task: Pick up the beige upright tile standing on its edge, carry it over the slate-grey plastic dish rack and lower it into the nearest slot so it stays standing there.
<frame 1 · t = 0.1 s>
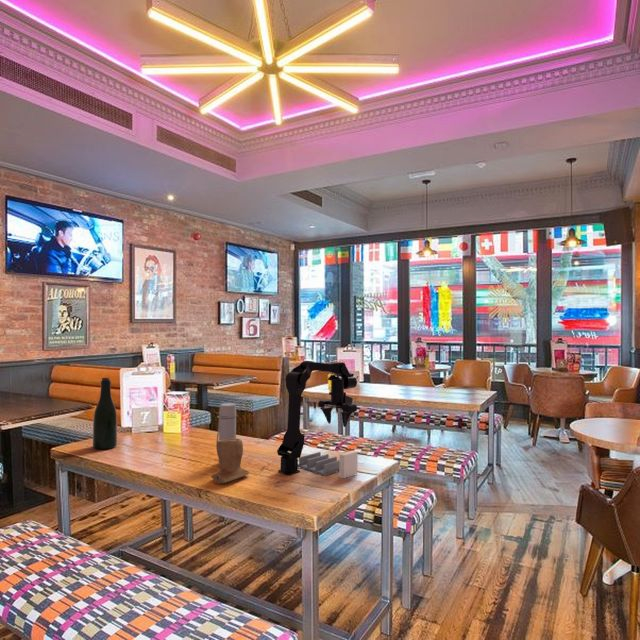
hand: (336, 425, 208), 15 cm above the table, tool pointing down, fingers open, 9 cm apart
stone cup: (228, 479, 179), on the table
dish rack: (322, 467, 194), on the table
beige upright tile: (348, 475, 184), on the table
dark wine bottle: (104, 447, 221), on the table
water bottle: (225, 463, 198), on the table
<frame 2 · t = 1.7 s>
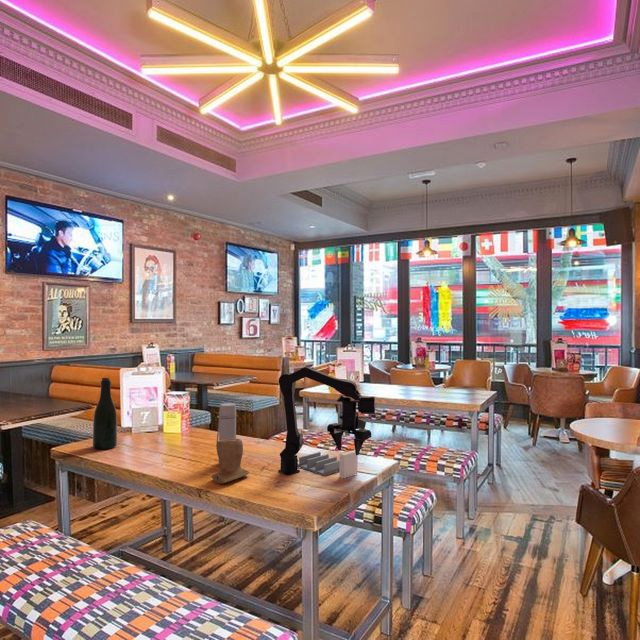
hand: (348, 452, 184), 9 cm above the table, tool pointing down, fingers open, 9 cm apart
nothing on the table moved.
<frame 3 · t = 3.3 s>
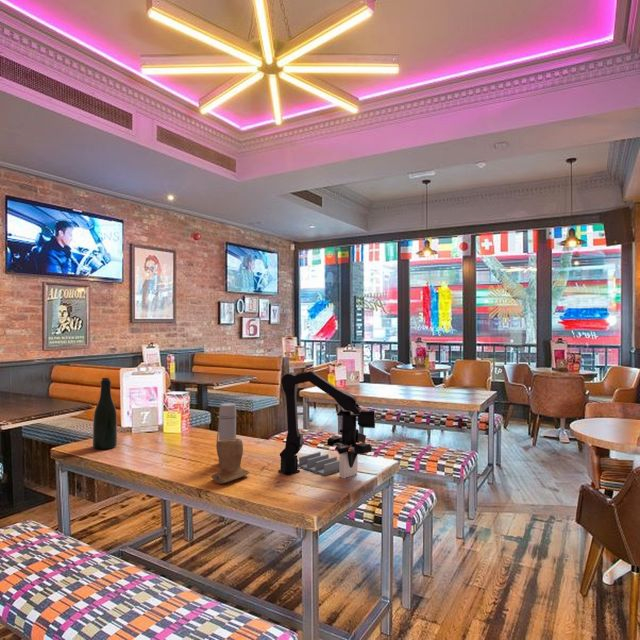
hand: (348, 466, 184), 4 cm above the table, tool pointing down, fingers closed on beige upright tile, 2 cm apart
beige upright tile: (348, 475, 184), on the table, touching gripper
everything else where it was.
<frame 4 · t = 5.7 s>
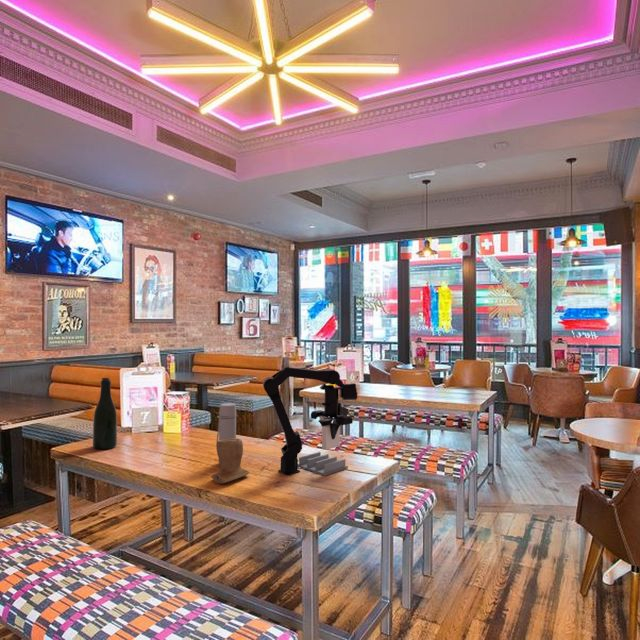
hand: (330, 438, 191), 13 cm above the table, tool pointing down, fingers closed on beige upright tile, 2 cm apart
beige upright tile: (330, 447, 191), point 9 cm above the table, touching gripper
everything else where it was.
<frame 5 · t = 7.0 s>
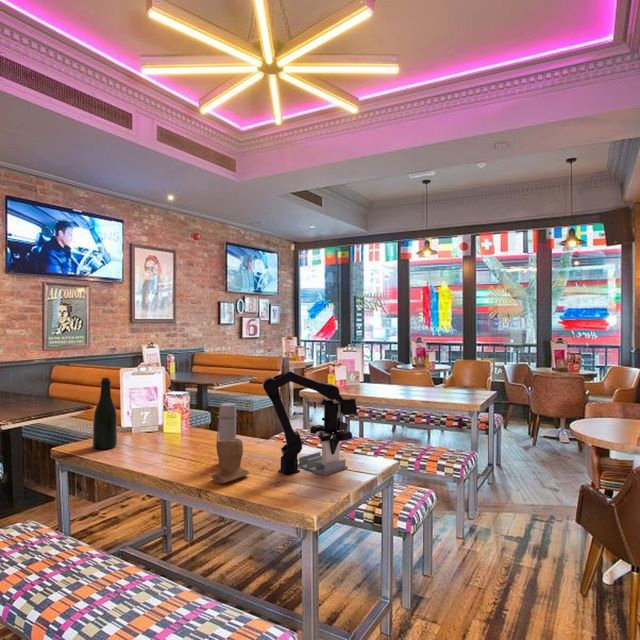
hand: (330, 453, 191), 7 cm above the table, tool pointing down, fingers closed on beige upright tile, 2 cm apart
beige upright tile: (330, 462, 191), point 3 cm above the table, touching gripper
everything else where it was.
when the fingers open (5 cm above the table, at t = 8.0 s): beige upright tile stays where it is, resting on dish rack.
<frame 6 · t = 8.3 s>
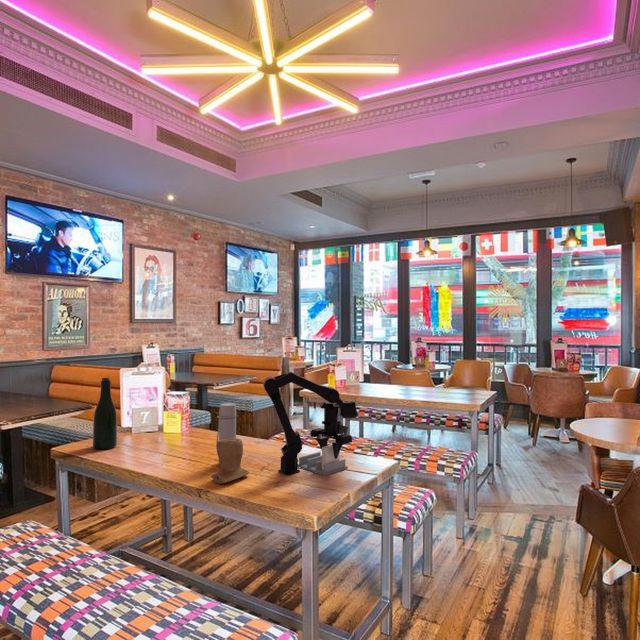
hand: (330, 457, 191), 5 cm above the table, tool pointing down, fingers open, 6 cm apart
beige upright tile: (330, 467, 191), point 1 cm above the table, touching dish rack
everything else where it was.
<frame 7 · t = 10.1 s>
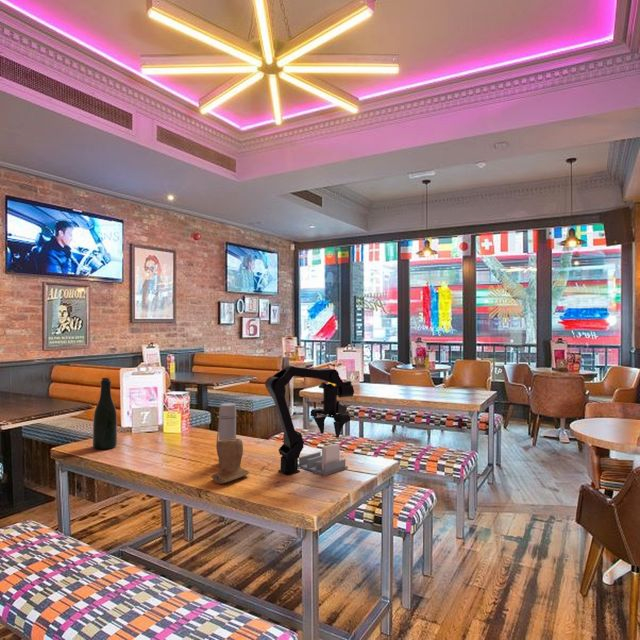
hand: (329, 435, 196), 13 cm above the table, tool pointing down, fingers open, 9 cm apart
nothing on the table moved.
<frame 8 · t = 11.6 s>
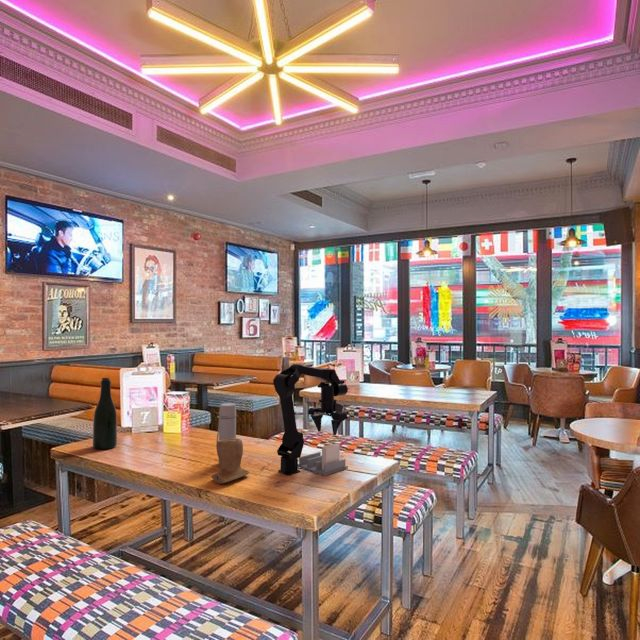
hand: (327, 433, 203), 12 cm above the table, tool pointing down, fingers open, 9 cm apart
nothing on the table moved.
at the end: beige upright tile 0.1 cm from the target spot on the dish rack, point 0.8 cm above the dish rack's base; beige upright tile tilted 0°; the gripper is holding nothing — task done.
